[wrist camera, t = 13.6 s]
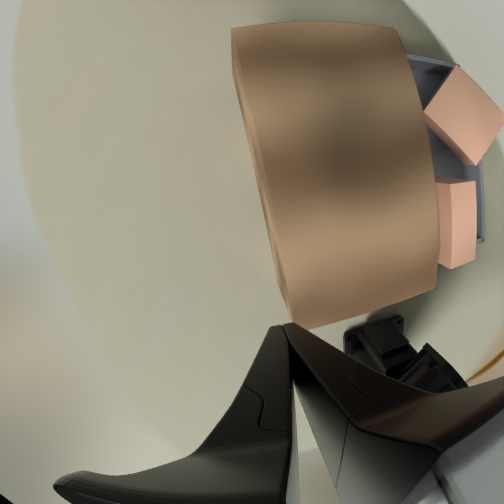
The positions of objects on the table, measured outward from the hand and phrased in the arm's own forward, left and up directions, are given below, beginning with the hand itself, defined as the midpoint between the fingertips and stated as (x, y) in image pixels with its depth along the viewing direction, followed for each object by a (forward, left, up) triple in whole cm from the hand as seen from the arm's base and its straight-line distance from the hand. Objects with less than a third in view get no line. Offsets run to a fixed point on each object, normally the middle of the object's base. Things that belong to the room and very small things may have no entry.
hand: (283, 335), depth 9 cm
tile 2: (+8, -18, -7) cm, 21 cm away
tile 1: (0, -13, -9) cm, 16 cm away
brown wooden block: (+5, -6, -12) cm, 14 cm away
